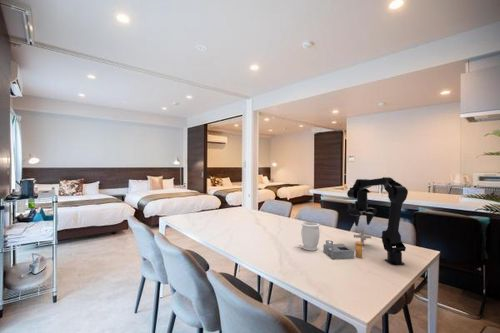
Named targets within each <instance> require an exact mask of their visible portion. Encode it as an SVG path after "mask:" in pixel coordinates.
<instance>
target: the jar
mask: <svg viewBox="0 0 500 333" xmlns="http://www.w3.org/2000/svg"><path fill="white" fill-rule="evenodd" d="M320 233H321V232H320V224H319V223H318V222H313V221H304V222H303V221H302V222H301V241H302V244H303V246H302V248H303V249H304V250H305V251H309V252H312V251H313V252H315V251H317V250H318V245H319V241H320Z"/></svg>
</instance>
